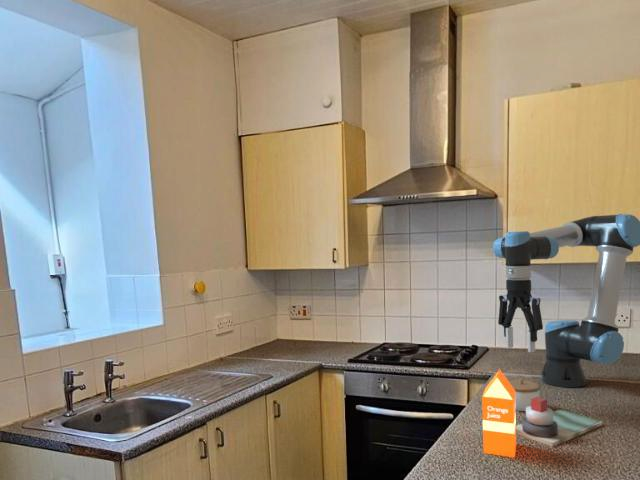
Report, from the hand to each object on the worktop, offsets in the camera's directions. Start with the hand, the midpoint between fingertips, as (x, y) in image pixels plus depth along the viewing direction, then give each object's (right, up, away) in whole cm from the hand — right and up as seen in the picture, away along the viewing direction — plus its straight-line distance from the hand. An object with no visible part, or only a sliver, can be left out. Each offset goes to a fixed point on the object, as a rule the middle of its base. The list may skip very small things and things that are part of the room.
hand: (520, 349), depth 158 cm
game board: (+3, -19, -17) cm, 26 cm away
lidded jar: (+1, -19, 0) cm, 19 cm away
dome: (-3, -15, -22) cm, 27 cm away
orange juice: (-17, -20, -29) cm, 39 cm away
